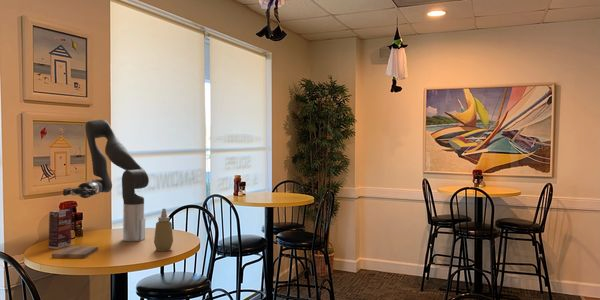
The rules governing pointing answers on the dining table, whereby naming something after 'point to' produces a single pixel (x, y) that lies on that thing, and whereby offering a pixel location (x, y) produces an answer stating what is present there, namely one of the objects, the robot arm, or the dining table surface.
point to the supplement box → (59, 228)
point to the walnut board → (75, 252)
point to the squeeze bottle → (163, 233)
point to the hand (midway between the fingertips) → (73, 193)
